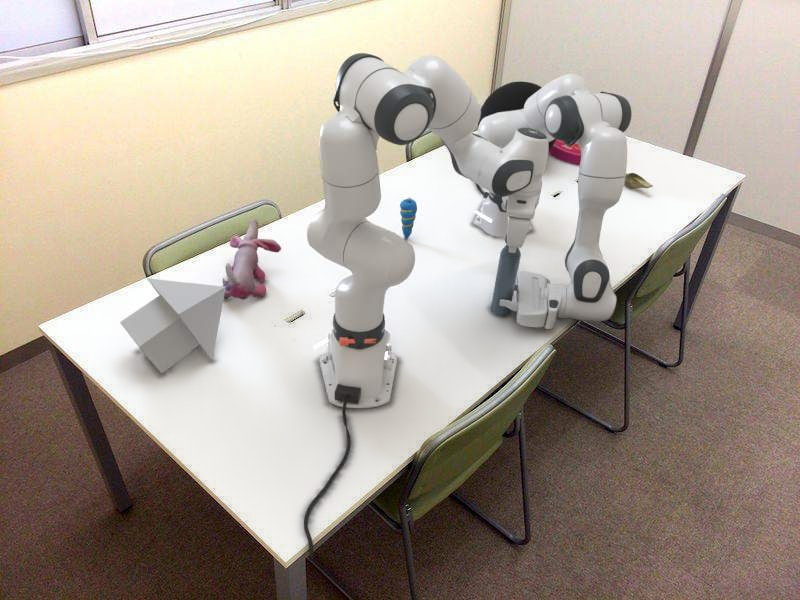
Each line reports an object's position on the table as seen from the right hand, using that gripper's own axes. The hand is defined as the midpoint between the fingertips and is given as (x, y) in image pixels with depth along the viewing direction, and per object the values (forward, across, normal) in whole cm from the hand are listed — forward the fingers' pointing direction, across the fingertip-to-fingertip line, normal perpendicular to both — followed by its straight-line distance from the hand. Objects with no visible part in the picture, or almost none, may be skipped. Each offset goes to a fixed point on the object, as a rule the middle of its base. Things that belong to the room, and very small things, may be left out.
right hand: (499, 294), depth 175 cm
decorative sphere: (-4, -94, +5) cm, 94 cm away
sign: (-32, -112, +5) cm, 116 cm away
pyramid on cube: (+76, +30, +5) cm, 82 cm away
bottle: (-1, 0, +5) cm, 5 cm away
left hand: (-1, 0, -16) cm, 16 cm away
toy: (+71, +2, +5) cm, 71 cm away
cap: (-1, 0, -18) cm, 18 cm away
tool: (-46, -85, +5) cm, 97 cm away
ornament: (+29, -30, +5) cm, 42 cm away
